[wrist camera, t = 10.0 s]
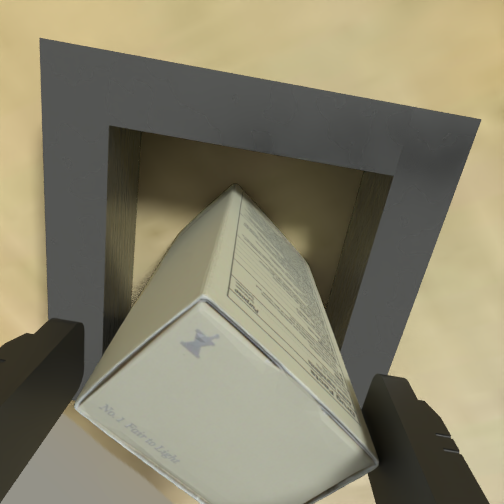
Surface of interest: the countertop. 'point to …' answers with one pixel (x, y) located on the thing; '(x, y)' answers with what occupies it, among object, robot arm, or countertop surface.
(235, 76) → the dark grey square frame
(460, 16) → the countertop surface
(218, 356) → the skincare box
